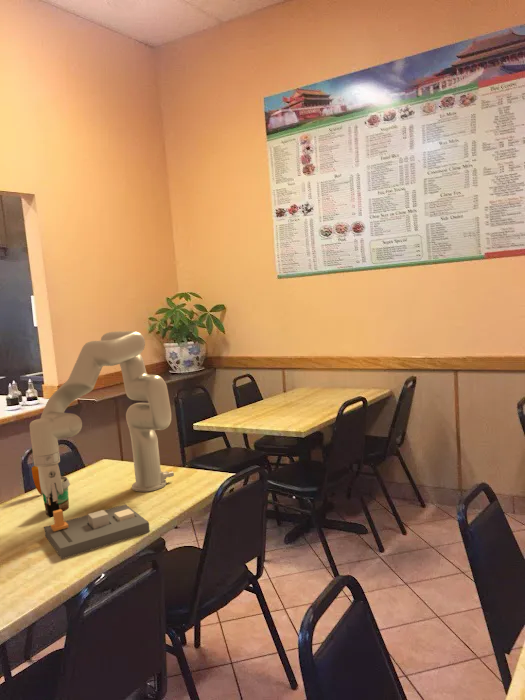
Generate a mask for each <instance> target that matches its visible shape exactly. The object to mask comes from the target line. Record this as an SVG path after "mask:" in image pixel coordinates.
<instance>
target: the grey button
mask: <svg viewBox="0 0 525 700" xmlns="http://www.w3.org/2000/svg"><path fill="white" fill-rule="evenodd" d="M104 510H105V509H101V510H97V511H95V512H89V513H87V515H88V519H89V527H90V528H91V529H96V528H99V527H102V526H106V525H109V516H108V513H106V512H105V511H104Z"/></svg>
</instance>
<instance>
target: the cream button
mask: <svg viewBox="0 0 525 700" xmlns="http://www.w3.org/2000/svg"><path fill="white" fill-rule="evenodd" d="M114 516H115V519H116V520H117V521H118V522H120V521H123V520H127V519H130V518H133V517H135V516H134V512H132V511H131V510H130V509H126V510H123V511H119V512H115V513H114Z"/></svg>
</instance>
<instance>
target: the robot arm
mask: <svg viewBox="0 0 525 700" xmlns="http://www.w3.org/2000/svg"><path fill="white" fill-rule="evenodd" d="M145 346H146V340H145V337H144V335H143V334H142V333H141V332H139V331H136V330H133V331H132V330H127V331H124V330H123V331H110V332H106V333H104V334H103V335H102V336H101V338H100V340H91V341H89V342H86V343H85V344H83V345H82V348H81V349H80V352H79V354H78V357H77V359H76V361H75V363H74V365H73V368H72V370H71V373H70V374H69V377H68V379H67V380H66V381H65V382H64V383H63V384H62V385H60V387H58V388H57V390H56V391H54V392H53V393H52V395H50V398H49V399H48V400H47V402H46V404H45V406H44V408H43V410H42V414H41V415H40V417H39V418H37V419H35V420H32V421H30V423H29V433H30V435H29V436H30V441H31V449H32V450H31V451H32V457H33V466H36V467H38V471H39V480H40V487H41V491H42V492H43V493H44V495H45V496H46V502H47V512H48V515H47V517H49V519H50V518H54V516H53V511H56V510H59V505H58V496H57V492H58V493H59V494H61V495H62V494H63V487H62V481H61V476H62V475H61V471H60V467H59V463H60V462H61V458H60V447H59V441H58V440H60V439H67V438H72V437H74V436H75V437H76V435H78V434H79V433H80V432H81V430H82V428H83V421H82V418H80V416H78V415H77V414H76V413H71V412H65V411H66V410H67V408H68V407H69V406H70V405H71V404H73V402H74V401H76V400H77V399H79V398H81V397H83V396H85V395H87V394H89V393H90V392H92V391H93V390H94V388H95V386H96V383H97V381H98V378H99V376H100V374H101V371H102V369H103V367H114V366H117V365H119V366H120V369H121V375H122V379H123V380H122V381H123V387H124V391H125V395H126V397H127V398H128V399H130V400H132V401H141V402H136V403H135V402H134V403H133V404H131V405H130V406H128V407H127V410H126V412H125V419H126V423H127V427H128V430H129V435H130V440H131V441H130V442H131V451H132V459H133V468H134V475H135V477H134V478H135V482H133V483H132V486H131V489H132V490H133V491H134V492H141V493H144V492H152V491H157V490H160V489H162V488H164V487H166V486H167V480H166V479H167V478H171V477H175V475H174V471H173V470H171V471H167V470H166V471H162V470H161V460H160V459H161V458H160V450H159V439H158V436H157V433H156V431H163V430H166V429H167V428H168V427H169V426H170V424H171V422H172V409H171V403H170V402H171V401H170V396H169V390H168V385H167V383H166V381H165V380H164V378H163V377H162V376H160V375H157V374H148V372H147V370H146V365H145V360H144V358H143V355H142V353H143V351H144V349H145ZM145 401H146V402H145Z"/></svg>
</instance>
